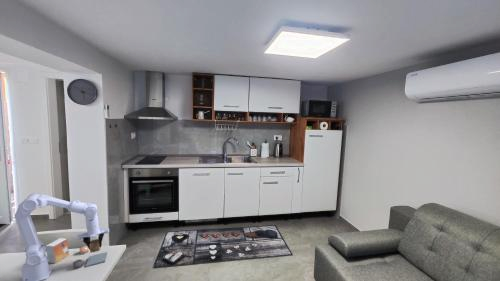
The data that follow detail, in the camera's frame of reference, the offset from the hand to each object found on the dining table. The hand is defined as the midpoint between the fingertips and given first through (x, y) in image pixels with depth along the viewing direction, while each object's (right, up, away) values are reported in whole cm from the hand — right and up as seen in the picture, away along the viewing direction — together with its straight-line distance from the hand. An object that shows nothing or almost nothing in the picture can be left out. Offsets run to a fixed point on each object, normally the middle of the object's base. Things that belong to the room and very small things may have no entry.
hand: (95, 247), depth 127 cm
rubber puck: (-7, -9, -4) cm, 12 cm away
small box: (-24, -8, +3) cm, 25 cm away
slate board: (0, -8, +1) cm, 8 cm away
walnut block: (0, -1, 0) cm, 1 cm away
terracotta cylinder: (-13, -7, +8) cm, 17 cm away
